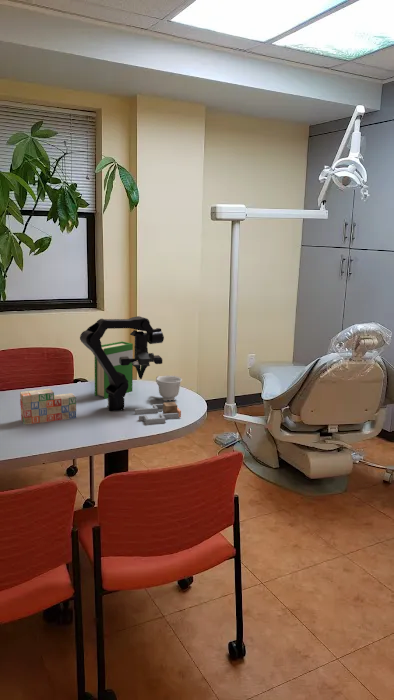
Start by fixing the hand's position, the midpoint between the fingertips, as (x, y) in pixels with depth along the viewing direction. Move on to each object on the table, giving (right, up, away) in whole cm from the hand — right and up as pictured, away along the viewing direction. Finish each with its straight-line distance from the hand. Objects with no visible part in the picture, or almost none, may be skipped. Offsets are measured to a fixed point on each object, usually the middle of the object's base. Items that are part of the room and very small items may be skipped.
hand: (140, 378), depth 246 cm
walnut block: (+14, -15, -10) cm, 23 cm away
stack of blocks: (-36, -16, -20) cm, 44 cm away
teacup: (+11, -10, +12) cm, 20 cm away
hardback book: (-15, -8, +18) cm, 24 cm away
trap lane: (+9, -15, -12) cm, 21 cm away
